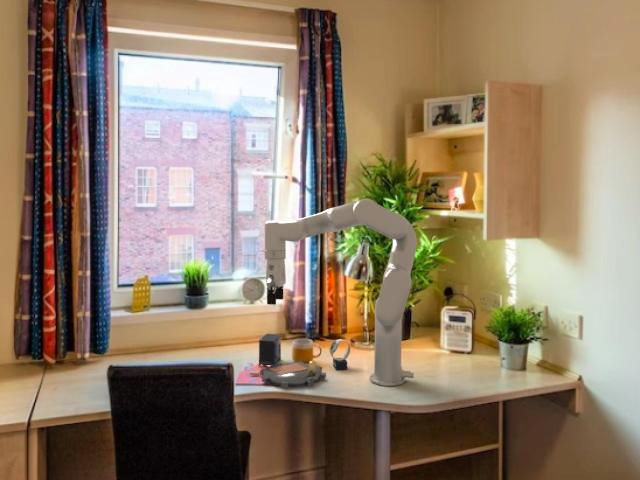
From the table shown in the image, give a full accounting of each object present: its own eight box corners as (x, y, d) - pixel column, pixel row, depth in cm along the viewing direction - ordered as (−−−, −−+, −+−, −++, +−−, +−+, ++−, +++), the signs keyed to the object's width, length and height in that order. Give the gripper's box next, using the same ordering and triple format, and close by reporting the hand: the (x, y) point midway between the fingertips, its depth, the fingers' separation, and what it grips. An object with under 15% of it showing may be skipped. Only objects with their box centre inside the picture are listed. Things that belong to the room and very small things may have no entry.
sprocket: (330, 368, 212) (330, 350, 211) (319, 390, 188) (319, 370, 187) (269, 364, 216) (269, 347, 215) (251, 385, 192) (250, 365, 192)
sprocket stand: (309, 374, 206) (309, 371, 206) (303, 383, 196) (303, 380, 196) (254, 370, 210) (254, 367, 210) (246, 379, 200) (246, 376, 200)
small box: (274, 367, 214) (274, 340, 213) (258, 366, 216) (258, 339, 215) (281, 359, 225) (281, 334, 224) (266, 358, 226) (266, 333, 225)
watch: (328, 366, 216) (328, 338, 215) (348, 365, 217) (348, 337, 217) (331, 370, 210) (331, 342, 210) (351, 369, 212) (351, 341, 211)
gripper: (278, 257, 191) (278, 307, 193) (291, 252, 208) (291, 297, 209) (257, 257, 193) (258, 306, 194) (272, 252, 209) (272, 297, 211)
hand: (275, 301), depth 202 cm, fingers open, 9 cm apart
